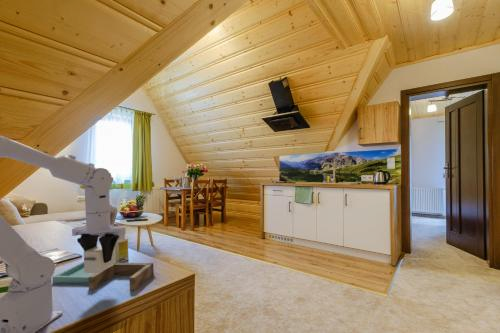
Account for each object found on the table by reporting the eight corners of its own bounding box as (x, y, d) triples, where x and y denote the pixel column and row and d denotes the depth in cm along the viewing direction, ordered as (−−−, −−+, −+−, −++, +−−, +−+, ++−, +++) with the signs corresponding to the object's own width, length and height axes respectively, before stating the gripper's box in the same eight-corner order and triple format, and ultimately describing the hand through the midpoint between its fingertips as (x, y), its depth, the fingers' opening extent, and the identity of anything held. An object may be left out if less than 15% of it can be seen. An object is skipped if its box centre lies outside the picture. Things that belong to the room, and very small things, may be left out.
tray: (91, 284, 75) (91, 277, 75) (52, 283, 76) (52, 277, 76) (119, 266, 87) (119, 260, 87) (85, 266, 89) (85, 260, 89)
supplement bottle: (130, 257, 96) (129, 230, 96) (125, 262, 91) (123, 234, 91) (115, 258, 96) (114, 231, 96) (108, 264, 90) (107, 235, 90)
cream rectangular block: (96, 274, 64) (95, 252, 64) (82, 274, 65) (81, 252, 65) (116, 262, 72) (115, 243, 72) (103, 262, 72) (102, 243, 72)
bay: (134, 290, 70) (134, 277, 70) (88, 289, 71) (88, 277, 71) (153, 274, 80) (153, 263, 80) (113, 273, 82) (112, 262, 82)
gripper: (131, 208, 71) (133, 256, 72) (85, 209, 73) (87, 255, 73) (115, 213, 64) (117, 266, 65) (64, 214, 66) (66, 265, 66)
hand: (100, 261), depth 68 cm, fingers closed on cream rectangular block, 4 cm apart
